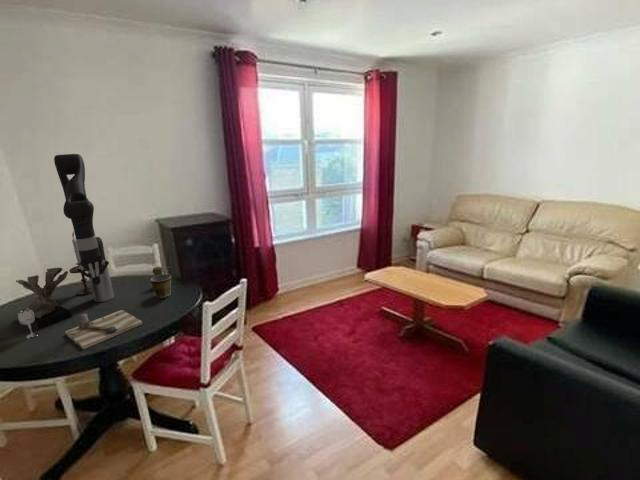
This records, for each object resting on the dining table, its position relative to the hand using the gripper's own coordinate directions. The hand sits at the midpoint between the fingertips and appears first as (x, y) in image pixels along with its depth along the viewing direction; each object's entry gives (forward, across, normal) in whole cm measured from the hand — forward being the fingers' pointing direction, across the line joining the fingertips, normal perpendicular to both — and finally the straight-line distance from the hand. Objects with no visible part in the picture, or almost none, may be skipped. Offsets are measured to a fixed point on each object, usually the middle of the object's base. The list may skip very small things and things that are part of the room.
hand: (97, 284), depth 161 cm
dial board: (+19, +2, +6) cm, 20 cm away
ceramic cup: (+20, -30, -10) cm, 37 cm away
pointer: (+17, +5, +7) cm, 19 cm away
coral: (+20, +15, -32) cm, 40 cm away
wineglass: (+19, +25, -14) cm, 35 cm away
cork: (+20, -35, -23) cm, 46 cm away
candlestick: (+20, -5, -49) cm, 53 cm away
